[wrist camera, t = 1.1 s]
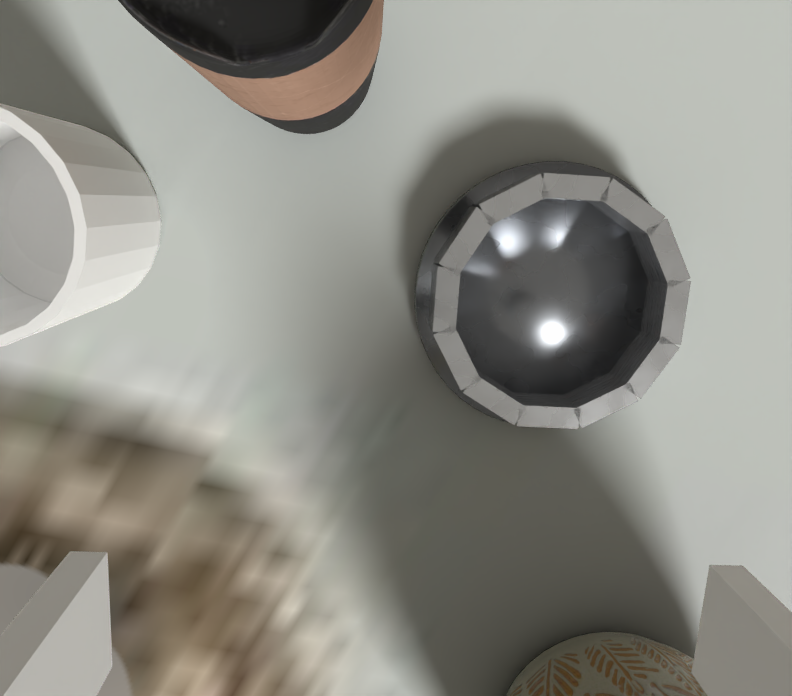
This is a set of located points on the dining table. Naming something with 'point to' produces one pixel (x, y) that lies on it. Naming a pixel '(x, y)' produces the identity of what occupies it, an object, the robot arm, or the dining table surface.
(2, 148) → the mug
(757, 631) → the robot arm
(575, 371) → the ring
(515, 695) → the vase
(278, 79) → the travel mug
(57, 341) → the dining table surface
